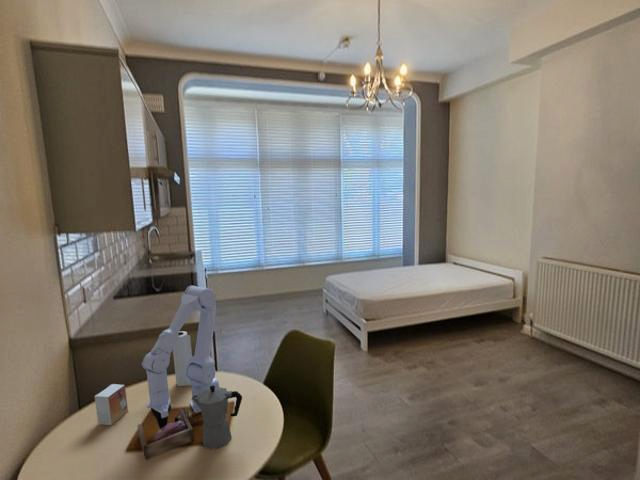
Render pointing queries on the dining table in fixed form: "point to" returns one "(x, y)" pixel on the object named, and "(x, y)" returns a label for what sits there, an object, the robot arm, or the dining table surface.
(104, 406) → the small box
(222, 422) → the coffeepot
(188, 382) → the paper towel roll
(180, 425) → the video game controller
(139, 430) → the box
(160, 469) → the dining table surface
